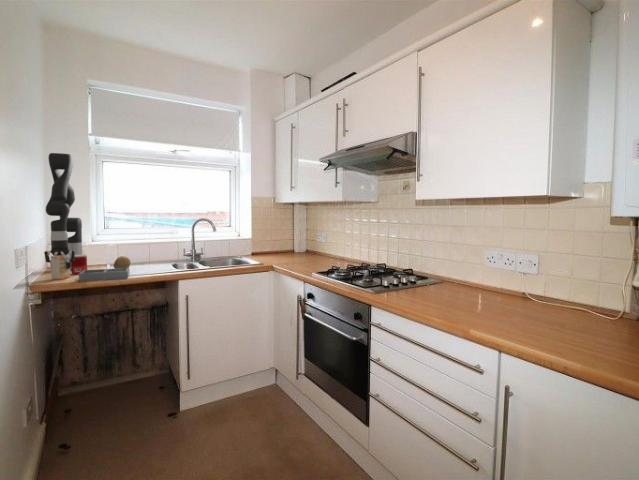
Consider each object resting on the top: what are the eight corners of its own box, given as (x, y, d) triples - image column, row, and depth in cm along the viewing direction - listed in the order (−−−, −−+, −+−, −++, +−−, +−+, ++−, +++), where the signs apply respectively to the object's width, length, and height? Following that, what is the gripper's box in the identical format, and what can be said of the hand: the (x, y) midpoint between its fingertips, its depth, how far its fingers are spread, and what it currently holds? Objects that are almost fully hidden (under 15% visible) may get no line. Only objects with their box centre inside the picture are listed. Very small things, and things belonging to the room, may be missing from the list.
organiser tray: (83, 277, 201) (83, 270, 200) (129, 274, 210) (129, 267, 210) (79, 281, 189) (78, 273, 189) (127, 278, 198) (127, 271, 198)
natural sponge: (113, 274, 211) (113, 257, 210) (114, 271, 219) (113, 255, 218) (130, 273, 215) (130, 256, 214) (130, 270, 223) (130, 255, 222)
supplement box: (60, 279, 192) (58, 256, 191) (51, 279, 192) (49, 255, 191) (71, 277, 200) (69, 254, 199) (62, 277, 200) (61, 254, 199)
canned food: (90, 273, 214) (89, 255, 213) (76, 275, 207) (75, 256, 206) (82, 272, 217) (81, 254, 216) (68, 274, 210) (67, 255, 209)
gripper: (76, 238, 201) (77, 267, 202) (45, 239, 195) (46, 269, 196) (73, 239, 194) (74, 269, 195) (41, 240, 188) (42, 271, 189)
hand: (60, 269), depth 196 cm, fingers closed on supplement box, 6 cm apart
